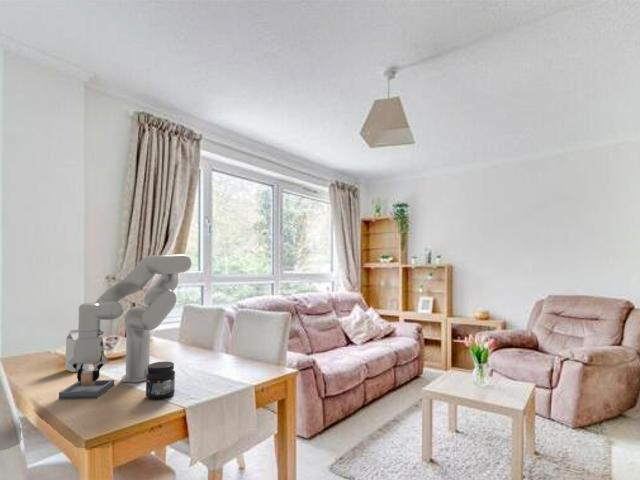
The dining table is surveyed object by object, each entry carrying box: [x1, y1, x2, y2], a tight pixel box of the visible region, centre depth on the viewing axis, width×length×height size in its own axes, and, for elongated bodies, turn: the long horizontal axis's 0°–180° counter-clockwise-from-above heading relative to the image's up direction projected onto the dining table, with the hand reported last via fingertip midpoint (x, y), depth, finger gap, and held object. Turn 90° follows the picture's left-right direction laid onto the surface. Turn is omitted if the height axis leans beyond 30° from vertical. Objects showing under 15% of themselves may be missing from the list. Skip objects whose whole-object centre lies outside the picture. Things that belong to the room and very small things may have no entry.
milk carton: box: [64, 328, 90, 373], centre depth 183 cm, size 7×7×19 cm
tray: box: [58, 379, 115, 400], centre depth 152 cm, size 14×14×2 cm
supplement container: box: [145, 360, 176, 401], centre depth 149 cm, size 10×10×12 cm
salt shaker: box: [81, 368, 95, 386], centre depth 153 cm, size 5×5×6 cm
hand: (88, 379), depth 153 cm, fingers closed on salt shaker, 5 cm apart
